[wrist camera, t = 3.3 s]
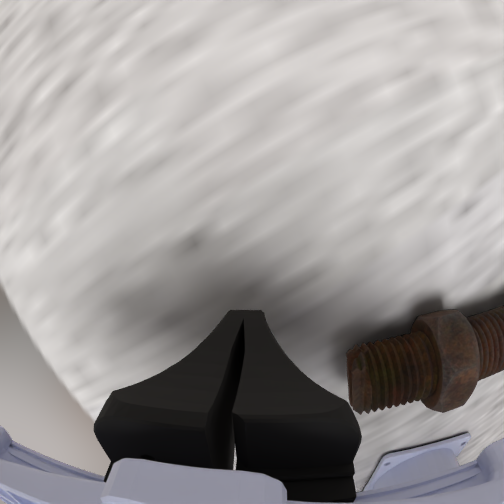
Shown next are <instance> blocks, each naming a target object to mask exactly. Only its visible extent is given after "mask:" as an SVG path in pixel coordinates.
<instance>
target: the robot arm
mask: <svg viewBox="0 0 504 504" xmlns="http://www.w3.org/2000/svg"><path fill="white" fill-rule="evenodd" d="M94 433H95V435H96V437H97V439H98V441H99V443H100V444H101V446H102V447H103V449H104V451H105V452H106V454H107V455H108V457H109V459H110V460H111V463H110V466H109V468H108V471H107V473H106V475H105V476H101V475H98V474H94V473H91V472H88V471H85V470H82V469H79V468H76V467H74V466H71V465H68V464H65V463H63V462H60V461H58V460H55V459H52V458H50V457H48V456H45V455H43V454H40V453H38V452H36V451H34V450H31V449H29V448H27V447H25V446H23V445H20V444H19V443H17V442H15V441H13V440H12V438H11V437H10V435H9V434H8V433H7V431H6V430H5V429H4V428H3V427H2V426H1V425H0V499H1V500H2V501H4V502H5V503H7V504H504V438H502V439H500V440H498V441H496V442H493V443H492V444H490V445H488V446H487V447H486V448H485V449H484V450H483V451H482V452H481V453H480V455H479V456H478V458H477V460H474V461H472V462H469V463H466V464H464V465H461V466H460V465H459V463H458V461H457V458H456V457H457V456H458V455H459V453H460V452H461V451H462V449H463V448H464V446H465V445H466V444H467V442H468V441H469V439H470V438H471V435H470V433H466V434H463V435H460V436H457V437H453V438H450V439H447V440H443V441H440V442H436V443H433V444H429V445H425V446H421V447H417V448H413V449H408V450H404V451H399V452H394V453H390V454H387V455H385V456H383V458H382V459H381V461H380V463H379V465H378V466H377V468H376V470H375V472H374V473H373V475H372V477H371V479H370V480H369V482H368V484H367V485H366V487H365V488H364V490H363V492H356V491H355V485H354V480H353V476H354V474H355V470H354V465H353V460H354V458H355V455H356V453H357V451H358V448H359V446H360V443H361V438H362V436H361V431H360V427H359V424H358V422H357V420H356V417H355V415H354V413H353V411H352V409H351V407H350V406H349V404H348V402H347V401H346V400H344V399H342V398H340V397H338V396H336V395H334V394H332V393H330V392H329V391H327V390H325V389H324V388H322V387H321V386H319V385H318V384H316V383H315V382H313V381H312V380H311V379H310V378H309V377H307V376H306V375H305V374H304V373H303V372H302V371H301V370H300V369H299V368H298V367H297V366H296V365H295V364H294V363H293V362H292V361H291V360H290V359H289V358H288V356H287V355H286V354H285V353H284V351H283V350H282V348H281V347H280V346H279V344H278V343H277V341H276V339H275V338H274V336H273V334H272V332H271V331H270V329H269V327H268V324H267V322H266V319H265V316H264V312H263V311H261V310H230V311H229V312H228V313H227V314H226V315H225V317H224V318H223V319H222V321H221V322H220V323H219V324H218V326H217V327H216V328H215V329H214V330H213V331H212V332H211V334H210V335H209V336H208V337H207V338H206V339H205V340H204V341H203V342H202V343H201V344H200V345H199V346H198V347H197V348H196V349H194V350H193V351H192V352H191V353H190V354H189V355H187V356H186V357H185V358H183V359H182V360H181V361H179V362H178V363H176V364H174V365H173V366H171V367H169V368H168V369H166V370H164V371H163V372H161V373H159V374H157V375H155V376H153V377H151V378H149V379H146V380H144V381H142V382H139V383H137V384H134V385H131V386H128V387H125V388H122V389H119V390H115V391H113V392H112V393H111V395H110V396H109V398H108V399H107V401H106V402H105V404H104V406H103V408H102V410H101V412H100V414H99V416H98V418H97V420H96V421H95V423H94ZM235 447H236V456H237V463H236V470H233V464H234V449H235Z"/></svg>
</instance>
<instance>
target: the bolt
mask: <svg viewBox="0 0 504 504" xmlns="http://www.w3.org/2000/svg"><path fill="white" fill-rule="evenodd" d="M346 357H347V377H348V387H349V400H350V405H351V406H352V407H353V410H355V411H356V412H358V413H359V414H360V415H361V414H362V412H363V411H365V412H366V413H368V414H369V412H370V410H371V409H372V410H373V411H374V412H375V411H377V409H378V408H380V409H381V410H383V409H384V408H385V407H386V406H387V407H388V408H391V407H392V405H394V406H395V407H397V406H399V404H400V403H401V404H402V405H405V404H406V402H407V401H408V402H409V403H412V402H413V401H414V400H415V401H419V400H420V399H421V401H422V403H423V404H424V405H425V406H426V407H427V408H430V409H432V410H434V411H438V412H442V413H444V412H447V411H449V410H452V409H455V408H458V407H460V406H463V405H464V404H465V403H466V401H467V400H468V399H469V397H470V396H471V394H472V393H473V391H474V389H475V387H476V385H477V382H478V381H479V380H481V379H484V378H486V377H489V376H491V375H494V374H496V373H498V372H500V371H503V370H504V306H501V307H498V308H495V309H492V310H489V311H486V312H482V313H480V314H477V315H474V316H470V317H467V318H466V317H465V316H464V315H463V314H462V313H461V312H460V311H458V310H442V311H436V312H432V313H428V314H424V315H420V316H418V317H417V319H416V320H415V322H414V324H413V326H412V329H411V333H410V334H409V335H408V334H404V335H403V336H402V337H401V336H397V337H396V338H393V337H391V338H389V340H387V339H383V340H382V342H380V341H378V340H377V341H375V343H374V344H373V343H371V342H369V343H368V344H367V345H365V344H364V343H362V344H361V346H360V347H359V346H357V345H356V344H355V346H354V348H353V349H349V351H348V352H347V353H346Z"/></svg>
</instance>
